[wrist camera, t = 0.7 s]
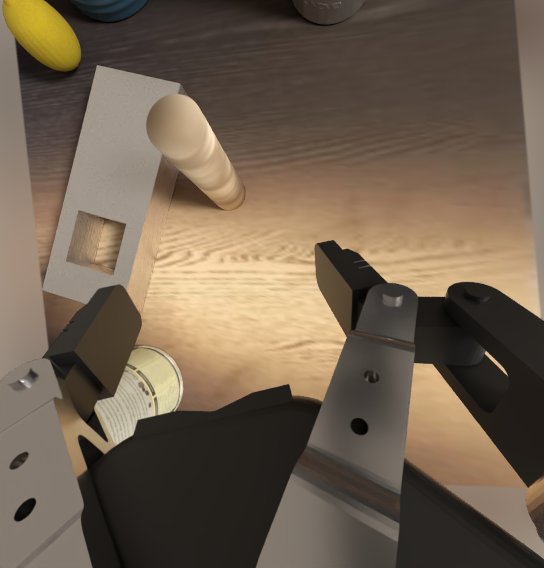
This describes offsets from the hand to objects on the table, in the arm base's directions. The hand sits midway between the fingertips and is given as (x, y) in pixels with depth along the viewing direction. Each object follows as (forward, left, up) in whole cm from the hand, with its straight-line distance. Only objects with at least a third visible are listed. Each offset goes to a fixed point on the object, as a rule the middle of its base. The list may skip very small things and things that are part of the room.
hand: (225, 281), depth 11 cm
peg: (-9, -8, -20) cm, 23 cm away
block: (-5, -20, -20) cm, 29 cm away
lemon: (-20, -32, -20) cm, 43 cm away
